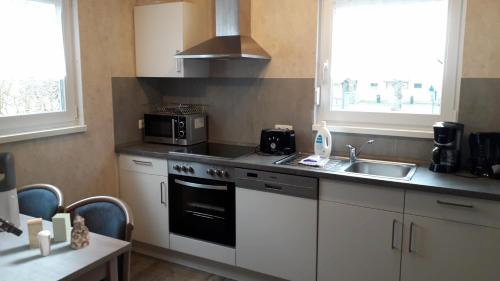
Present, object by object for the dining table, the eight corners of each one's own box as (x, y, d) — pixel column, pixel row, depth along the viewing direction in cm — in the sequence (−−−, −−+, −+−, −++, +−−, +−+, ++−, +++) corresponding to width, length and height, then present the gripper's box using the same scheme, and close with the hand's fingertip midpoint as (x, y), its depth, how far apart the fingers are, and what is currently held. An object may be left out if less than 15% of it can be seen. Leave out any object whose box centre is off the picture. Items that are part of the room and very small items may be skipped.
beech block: (29, 244, 162) (27, 220, 160) (44, 241, 164) (41, 217, 162) (30, 248, 157) (27, 224, 155) (44, 246, 160) (42, 222, 158)
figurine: (70, 250, 156) (67, 220, 154) (70, 242, 163) (68, 214, 160) (90, 247, 159) (88, 217, 156) (90, 239, 165) (87, 211, 163)
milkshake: (37, 253, 154) (34, 228, 152) (52, 250, 155) (50, 226, 154) (35, 258, 149) (32, 232, 148) (51, 256, 151) (49, 230, 149)
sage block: (59, 236, 168) (56, 213, 167) (71, 236, 169) (69, 213, 167) (54, 241, 164) (51, 218, 162) (66, 241, 164) (64, 217, 162)
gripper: (-11, 203, 130) (31, 226, 141) (-24, 193, 140) (16, 216, 150) (-28, 223, 128) (16, 246, 138) (-40, 212, 137) (2, 234, 148)
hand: (16, 230), depth 144 cm, fingers open, 8 cm apart
